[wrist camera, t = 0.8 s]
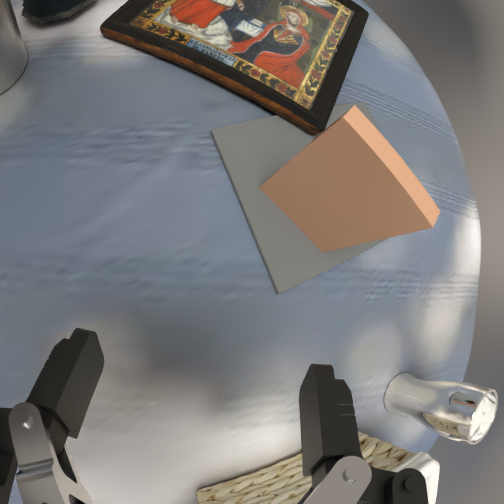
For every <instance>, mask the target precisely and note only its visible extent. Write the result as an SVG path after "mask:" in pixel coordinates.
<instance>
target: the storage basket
mask: <svg viewBox="0 0 504 504" xmlns="http://www.w3.org/2000/svg"><path fill="white" fill-rule="evenodd" d="M358 436H359V442H360V449H361V453H362V456H363V458H364V459H365V461H366V462H367V463H368V464H370V465H371V466H373V467H375V468H378V469H382V470H387V471H392V472H399V471H401V470H403V469H405V468H414V469H416V470H418V471H420V472H421V473H422V474H423V476H424V478H425V480H426V486H427V494H428V502H429V504H435V501H436V494H437V488H438V479H439V467H440V466H439V463H438V462H437V461H435V460H433V459H432V458H431V457H430V456H429V455H428V454H427V453H425V452H418V453H413V452H409V451H407V450H405V449H401V448H400V447H397V446H394V445H393V444H392V443H390V442H384V441H381V440H379V439H378V438H376V437H369V435H367V434H364V433H362V432H359V431H358ZM311 485H312V476H303V467H302V453H300V454H298V455H296V456H295V457H292V458H289V459H286V460H284V461H281V462H279V463H277V464H275V465H273V466H271V467H268V468H264V469H261V470H260V471H257V472H255V473H252V474H249V475H246V476H241V477H239V478H237V479H234V480H230V481H227V482H224V483H219V484H217V485H214V486H210V487H207V488H202V489H199V491H197V499H198V502H199V504H296V503H297V502H298V501H299V499H300V498H301V497H302V496H303V495H304V493H305V492H306V491H307V490H308V488H309V487H310V486H311Z"/></svg>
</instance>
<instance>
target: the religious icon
mask: <svg viewBox="0 0 504 504" xmlns="http://www.w3.org/2000/svg"><path fill="white" fill-rule="evenodd" d="M368 15H369V13H368V12H367V11H366V10H365V9H363V8H362V7H361V6H359V5H358V4H356V3H355V2H353V1H352V0H128V1H127V2H126V3H125V4H124V5H123V6H121V7H120V8H119V9H118V10H117V11H116V12H114V13H113V14H112V15H111V16H110V17H109V18H107V19H106V20H105V21H104V22H103V24H102V25H101V26H100V31H101V33H102V34H103V35H105V36H107V37H110V38H113V39H115V40H118V41H121V42H124V43H126V44H129V45H132V46H134V47H137V48H139V49H142V50H144V51H147V52H149V53H152V54H154V55H157V56H159V57H162V58H164V59H167V60H169V61H172V62H174V63H176V64H179V65H181V66H183V67H186V68H188V69H190V70H192V71H194V72H196V73H199V74H201V75H203V76H205V77H207V78H209V79H211V80H213V81H215V82H217V83H219V84H221V85H223V86H225V87H227V88H229V89H231V90H233V91H235V92H237V93H239V94H241V95H243V96H245V97H247V98H249V99H251V100H253V101H255V102H257V103H258V104H260V105H262V106H263V107H265V108H267V109H269V110H270V111H272V112H274V113H276V114H277V115H279V116H281V117H283V118H284V119H286V120H288V121H289V122H291V123H293V124H294V125H296V126H297V127H299V128H301V129H302V130H304V131H305V132H307V133H309V134H311V135H317V134H320V133H321V132H323V131H324V130H325V128H326V126H327V123H328V120H329V118H330V115H331V113H332V110H333V107H334V105H335V102H336V99H337V97H338V94H339V92H340V89H341V87H342V84H343V81H344V79H345V76H346V73H347V71H348V69H349V66H350V63H351V61H352V58H353V55H354V53H355V50H356V48H357V45H358V42H359V40H360V37H361V34H362V32H363V29H364V26H365V24H366V21H367V18H368Z"/></svg>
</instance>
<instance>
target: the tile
mask: <svg viewBox="0 0 504 504" xmlns="http://www.w3.org/2000/svg"><path fill="white" fill-rule="evenodd" d="M259 188H260V189H261V190H262V191H263V192H264V193H265V194H266V195H267V196H268V197H269V198H270V199H271V200H272V201H273V202H274V203H275V204H276V205H277V206H278V207H279V208H280V209H281V210H282V211H283V212H284V213H285V214H286V215H287V216H288V217H289V218H290V219H291V220H292V221H293V222H294V223H295V224H296V225H297V226H298V228H299V229H300V230H301V231H302V232H303V233H304V234H305V235H306V236H307V237H308V238H309V239H310V240H311V241H312V242H313V243H314V244H315V245H316V246H317V247H318V248H319V249H320V250H321V251H322V252H327V251H331V250H336V249H340V248H345V247H349V246H354V245H358V244H363V243H367V242H371V241H376V240H380V239H385V238H389V237H393V236H398V235H402V234H407V233H411V232H415V231H419V230H424V229H428V228H432V227H433V226H434V224H435V222H436V219H437V217H438V215H439V213H440V210H439V209H438V207H437V206H436V204H435V203H434V201H433V200H432V198H431V197H430V196H429V194H428V193H427V191H426V190H425V189H424V187H423V186H422V185H421V183H420V182H419V180H418V179H417V178H416V176H415V175H414V174H413V173H412V171H411V170H410V169H409V167H408V166H407V165H406V163H405V162H404V161H403V160H402V158H401V157H400V156H399V155H398V153H397V152H396V151H395V150H394V149H393V147H392V146H391V145H390V144H389V143H388V141H387V140H386V139H385V138H384V137H383V136H382V134H381V133H380V132H379V131H378V130H377V129H376V128H375V126H374V125H373V124H372V123H371V122H370V121H369V120H368V119H367V118H366V116H365V115H364V114H363V113H362V112H361V111H360V110H359V109H358V108H357V107H356V106H355V105H354V106H353V107H352V108H350V109H349V110H348V111H347V112H346V113H344V114H343V115H342V116H341V117H339V118H338V119H337V120H336V121H335V122H333V123H332V124H331V125H330V126H329V127H327V128H326V129H325V130H324V131H323V132H321V133H320V134H319V135H318V136H317V137H316V138H314V139H313V140H312V141H311V142H310V143H308V144H307V145H306V146H305V147H304V148H303V149H301V150H300V151H299V152H298V153H297V154H296V155H294V156H293V157H292V158H291V159H290V160H289V161H287V162H286V163H285V164H284V165H283V166H282V167H281V168H279V169H278V170H277V171H276V172H275V173H274V174H273V175H271V176H270V177H269V178H268V179H267V180H266V181H265V182H264V183H263V184H262V185H261V186H260V187H259Z"/></svg>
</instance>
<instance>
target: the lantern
mask: <svg viewBox="0 0 504 504" xmlns="http://www.w3.org/2000/svg"><path fill="white" fill-rule="evenodd" d="M23 1H24V3H23V5H22V6H24V8H23V11H22V16H24V17H26V18H29V19H31V20H33V21H35V22H37V23H39V24H42V23H45V22H49V21H54V20H58V19H62V18H67V17H70V16H72V15H73V14H75V13H76V12H77V11H79V10H80V9H82V8H83V7H85V6H86V5H88V4H89V3H91V2H92V1H94V0H23Z"/></svg>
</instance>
